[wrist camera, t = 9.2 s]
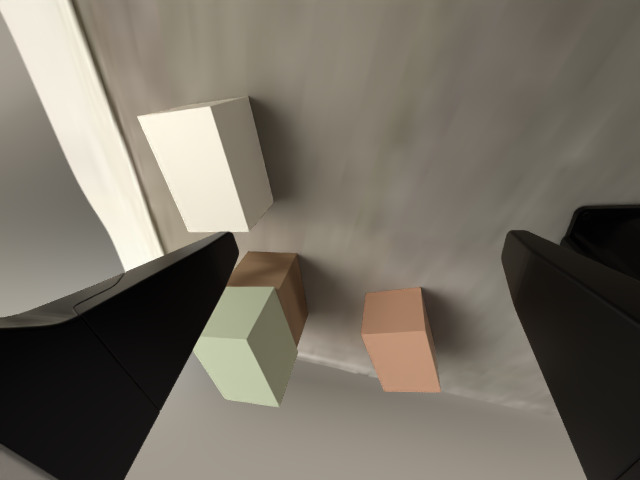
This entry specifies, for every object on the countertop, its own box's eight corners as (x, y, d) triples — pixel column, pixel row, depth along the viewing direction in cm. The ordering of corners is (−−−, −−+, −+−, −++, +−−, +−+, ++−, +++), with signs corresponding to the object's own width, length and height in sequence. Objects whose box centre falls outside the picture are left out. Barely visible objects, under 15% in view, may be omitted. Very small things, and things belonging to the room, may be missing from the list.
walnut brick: (297, 252, 26) (278, 289, 22) (308, 312, 30) (295, 352, 26) (248, 250, 27) (222, 284, 23) (266, 308, 31) (246, 346, 27)
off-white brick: (248, 95, 19) (209, 106, 15) (274, 201, 23) (249, 231, 19) (188, 104, 20) (137, 116, 16) (222, 203, 25) (188, 232, 21)
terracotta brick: (420, 285, 25) (425, 330, 21) (434, 344, 28) (441, 392, 24) (365, 292, 27) (360, 334, 23) (385, 346, 30) (384, 391, 26)
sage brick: (274, 286, 22) (246, 339, 18) (298, 351, 26) (279, 407, 22) (220, 286, 23) (182, 335, 19) (250, 348, 27) (225, 399, 23)
